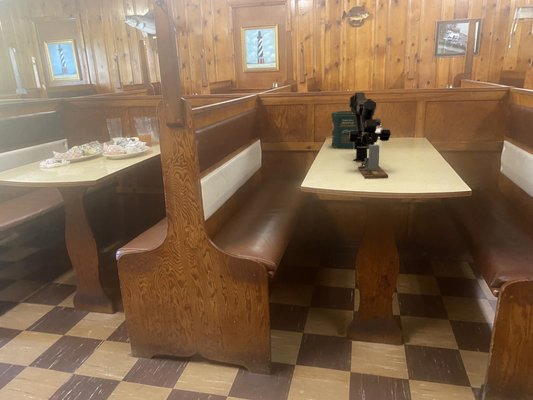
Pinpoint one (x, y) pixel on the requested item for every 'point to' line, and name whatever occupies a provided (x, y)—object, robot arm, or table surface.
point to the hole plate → (371, 171)
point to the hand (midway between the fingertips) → (371, 150)
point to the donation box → (342, 129)
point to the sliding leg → (373, 158)
